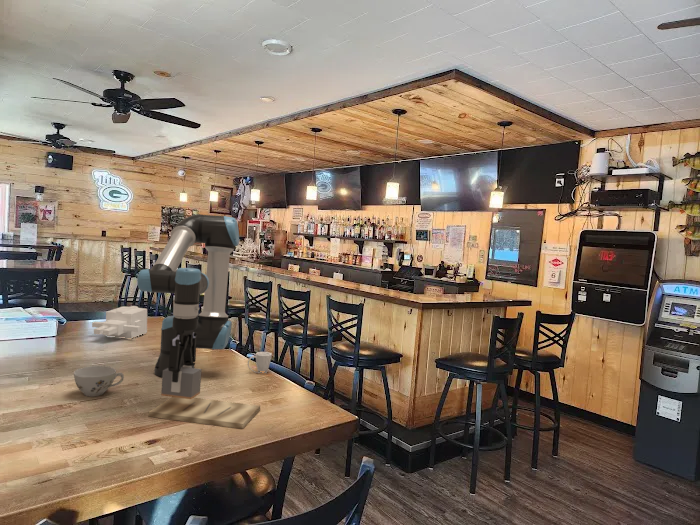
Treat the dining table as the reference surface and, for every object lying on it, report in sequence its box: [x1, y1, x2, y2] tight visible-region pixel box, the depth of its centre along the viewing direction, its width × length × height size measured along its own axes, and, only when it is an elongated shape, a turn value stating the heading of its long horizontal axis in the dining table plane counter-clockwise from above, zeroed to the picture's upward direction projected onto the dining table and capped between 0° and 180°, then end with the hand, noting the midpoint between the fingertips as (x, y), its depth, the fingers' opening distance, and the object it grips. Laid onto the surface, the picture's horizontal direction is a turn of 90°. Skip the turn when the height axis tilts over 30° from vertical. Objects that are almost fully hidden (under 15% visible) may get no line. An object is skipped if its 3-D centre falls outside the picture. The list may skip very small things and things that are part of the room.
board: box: [148, 397, 261, 430], centre depth 147 cm, size 30×16×2 cm, turn 83°
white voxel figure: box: [91, 305, 148, 338], centre depth 237 cm, size 15×25×28 cm
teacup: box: [73, 365, 125, 397], centre depth 157 cm, size 15×12×8 cm
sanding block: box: [160, 367, 202, 399], centre depth 148 cm, size 10×6×8 cm, turn 83°
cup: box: [247, 351, 273, 374], centre depth 195 cm, size 7×10×8 cm
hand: (180, 388), depth 148 cm, fingers closed on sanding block, 6 cm apart
